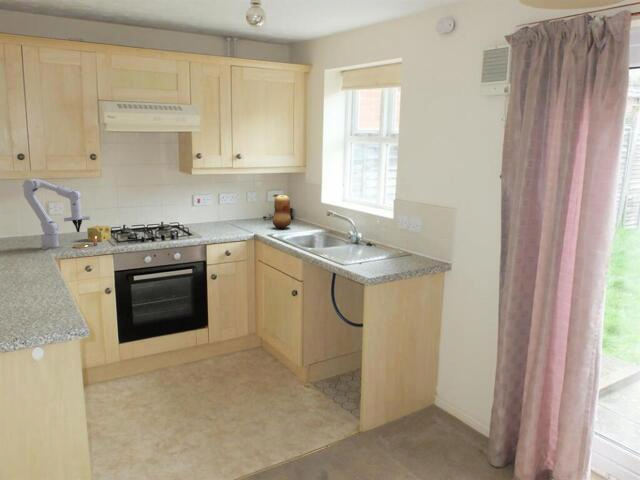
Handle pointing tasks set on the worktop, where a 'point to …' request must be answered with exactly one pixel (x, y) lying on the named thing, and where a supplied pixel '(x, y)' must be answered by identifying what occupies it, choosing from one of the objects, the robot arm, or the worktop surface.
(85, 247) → the cam capstan
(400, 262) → the worktop surface
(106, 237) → the cheese
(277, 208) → the butternut squash
